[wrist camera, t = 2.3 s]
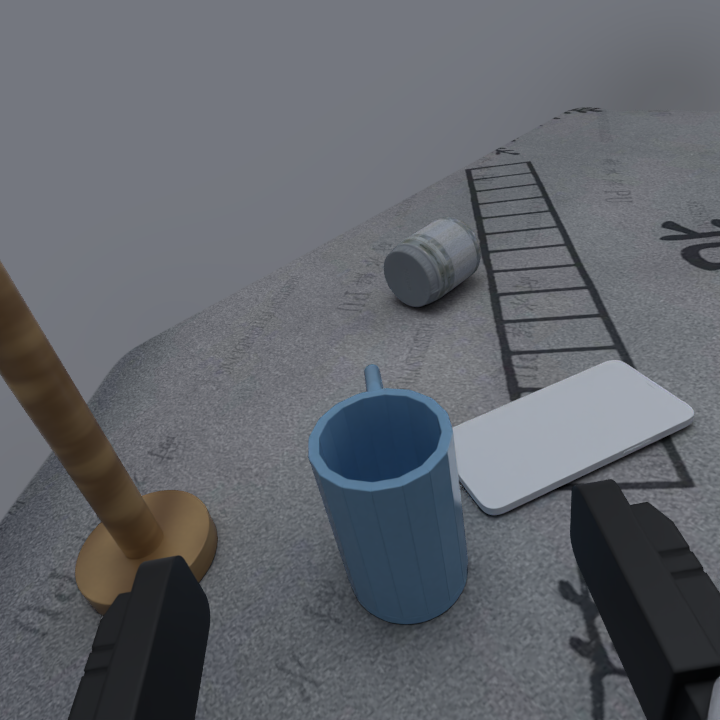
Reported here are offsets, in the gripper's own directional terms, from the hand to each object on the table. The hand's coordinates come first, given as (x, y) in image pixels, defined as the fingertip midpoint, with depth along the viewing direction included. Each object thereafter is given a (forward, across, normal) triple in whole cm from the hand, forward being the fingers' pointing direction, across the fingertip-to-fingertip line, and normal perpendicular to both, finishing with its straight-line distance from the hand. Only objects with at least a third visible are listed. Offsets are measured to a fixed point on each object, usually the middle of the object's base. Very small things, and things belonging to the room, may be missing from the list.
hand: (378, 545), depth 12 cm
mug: (+14, 0, +17) cm, 22 cm away
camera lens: (+38, -4, +14) cm, 41 cm away
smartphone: (+19, -11, +17) cm, 28 cm away
